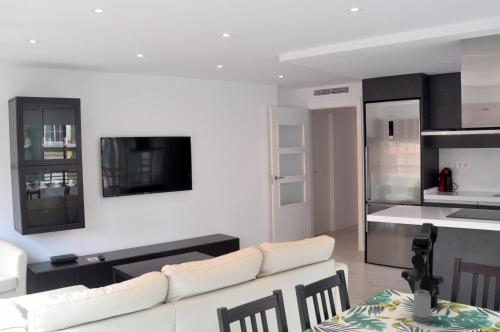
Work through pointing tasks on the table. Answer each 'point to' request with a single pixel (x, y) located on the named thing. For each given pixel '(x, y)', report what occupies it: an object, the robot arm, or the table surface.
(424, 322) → the coaster
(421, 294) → the can
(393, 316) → the table surface
